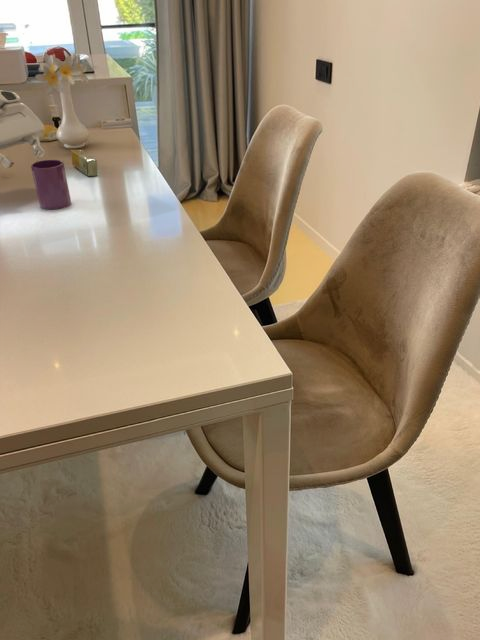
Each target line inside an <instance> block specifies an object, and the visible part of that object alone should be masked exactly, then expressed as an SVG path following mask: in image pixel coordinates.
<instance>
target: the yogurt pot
mask: <svg viewBox="0 0 480 640" xmlns="http://www.w3.org/2000/svg"><path fill="white" fill-rule="evenodd" d="M30 169H31V173H32V177H33V181H34V187H35V190H36V195H37V200H38V203H39V206H40V208H41V209H43V210H60V209H65V208H67V207H69V206H71V205H72V199H71V194H70V189H69V183H68V178H67V174H66V169H65V163H64V161H63V160H60V159H43V160H38V161H35V162H32V163H31V164H30ZM64 207H65V208H64Z"/></svg>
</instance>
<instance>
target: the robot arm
mask: <svg viewBox="0 0 480 640" xmlns="http://www.w3.org/2000/svg"><path fill="white" fill-rule="evenodd" d="M44 125H45V124H44V123H43V122H42V121H41V119H40V118H39V117H38V116H37V115H36V114H35V112H33V111H32V109H31V108H30V107H29V106H28V105H26V104H25V103H23V102H21V97H20V95H18V94H17V93H16V92H14V91H9V90H2V89H0V151H4V150H7V149H10V148H13V147H17V146H21V145H23V144H26V143H28V144H29V145H30V146H32V147H33V151H32V153H33V154H34V156H35V157H36V158H37V159H40V158H42V157H44V156H45V154H46V151H45V149H44V148H43V147H42V145H41V141H39V138H40V137H41V135H42V134H43V132H44ZM0 164H1V166H3V167H4V169H5V170H6V169H9V168H12V167H13V166H14V165H15V162H14V160H13V159H12V158H11V157H10V155H4V154H3V153H1V152H0Z"/></svg>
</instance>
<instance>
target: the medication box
mask: <svg viewBox="0 0 480 640" xmlns="http://www.w3.org/2000/svg"><path fill="white" fill-rule="evenodd" d="M70 151H71V153H70V154H71V165H72V166H74V167H75V168H77V169H78V170H79V171H80V172H81V173H82V174H84V175H86V176H87V177H97V176H98V160H97V159H96V158H94V157H92V156H91V155H90V154H88V153H86V152H85V151H84V150H82V149H70Z"/></svg>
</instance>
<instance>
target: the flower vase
mask: <svg viewBox="0 0 480 640" xmlns="http://www.w3.org/2000/svg"><path fill="white" fill-rule="evenodd" d="M63 55H64V56H65V59H64V61H62V60H61V59H60V58H57V57H56V54H55V53H53V54H48V53H46V52H45V53H44V55H43V60H44V62H40V63H39V67H38V69H37V70H38V72H39V73H38V74H36V75H35V77H34V78H35V79H36V80H37V82H38V81H39V82H41V83H45V84H44V92H45V94H46V95H47V94H51V93H52V91H53V89H55V90H56V91H57V92H58V93H59V96H60V101H61V108H62V117H61V118H62V119H61V123H60V125H59V126H58V128H57V134H56V136H57V138H58V141H59V142H60V143H61V144H62V145H63V147H64V148H65V149H70V150H77V149H81V148H82V149H83V148H84V147H86V143H87V141H88V140H89V138H90V132H89V130H88V128H87V127H86V126H85V125H84V123H82V122H81V121H80V120H79V118H78V116H77V114H76V111H75V107H74V103H73V98H72V93H71V85H72V86H73V85H75V83H76V80H75V77H74V76H78V78H79V79H80V80H81V82H82V83H84V81H85V82H86V83H87V84H89V83H90V81H89V78H88V76H87V75H86V72H87V70H88V67H87V64H85V63H82V64H81V62H82V61H81V56H80V54H79V53H77V54H76V53H72V54H71V55H70V54H69V53H68V52H67V51H66V50H63Z"/></svg>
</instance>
